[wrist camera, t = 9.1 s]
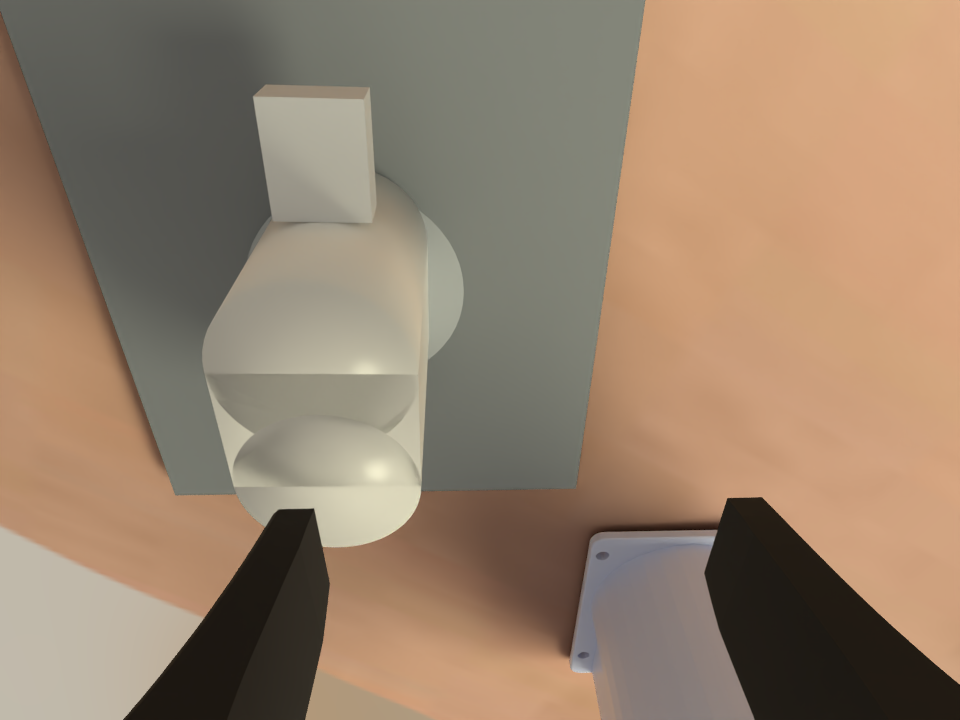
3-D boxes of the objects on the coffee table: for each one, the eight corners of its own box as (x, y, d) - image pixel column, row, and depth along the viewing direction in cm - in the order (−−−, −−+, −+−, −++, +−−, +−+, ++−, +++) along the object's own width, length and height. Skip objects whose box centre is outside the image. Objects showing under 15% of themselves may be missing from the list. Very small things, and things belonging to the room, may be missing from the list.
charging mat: (572, 472, 24) (576, 490, 23) (183, 478, 23) (174, 497, 22) (641, -43, 14) (651, -41, 14) (0, -53, 14) (-26, -51, 13)
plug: (429, 391, 20) (422, 546, 15) (299, 390, 20) (250, 548, 15) (425, 64, 15) (412, 140, 10) (246, 59, 14) (141, 134, 10)
